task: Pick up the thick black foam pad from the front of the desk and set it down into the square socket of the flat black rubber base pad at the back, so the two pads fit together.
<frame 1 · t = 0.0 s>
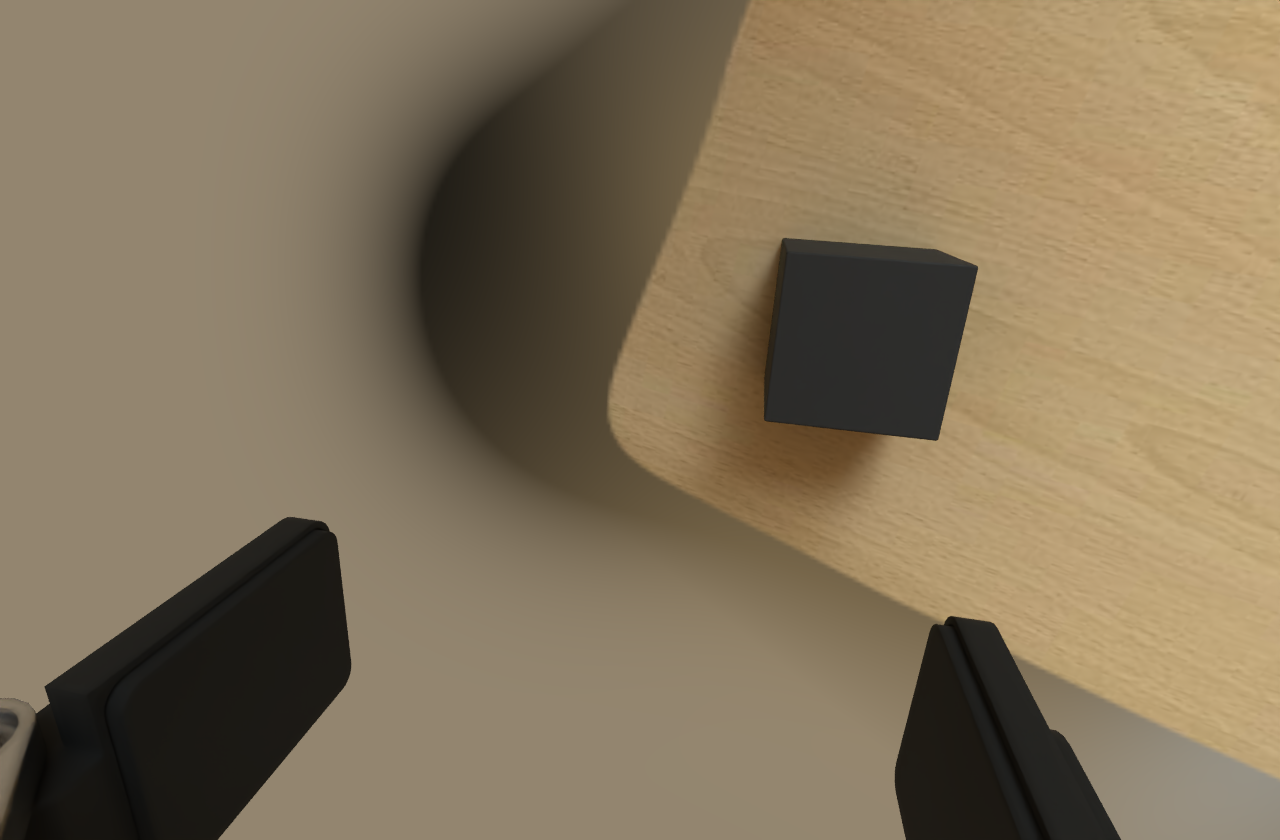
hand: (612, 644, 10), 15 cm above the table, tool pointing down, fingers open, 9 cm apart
foam pad: (846, 318, 23), on the table
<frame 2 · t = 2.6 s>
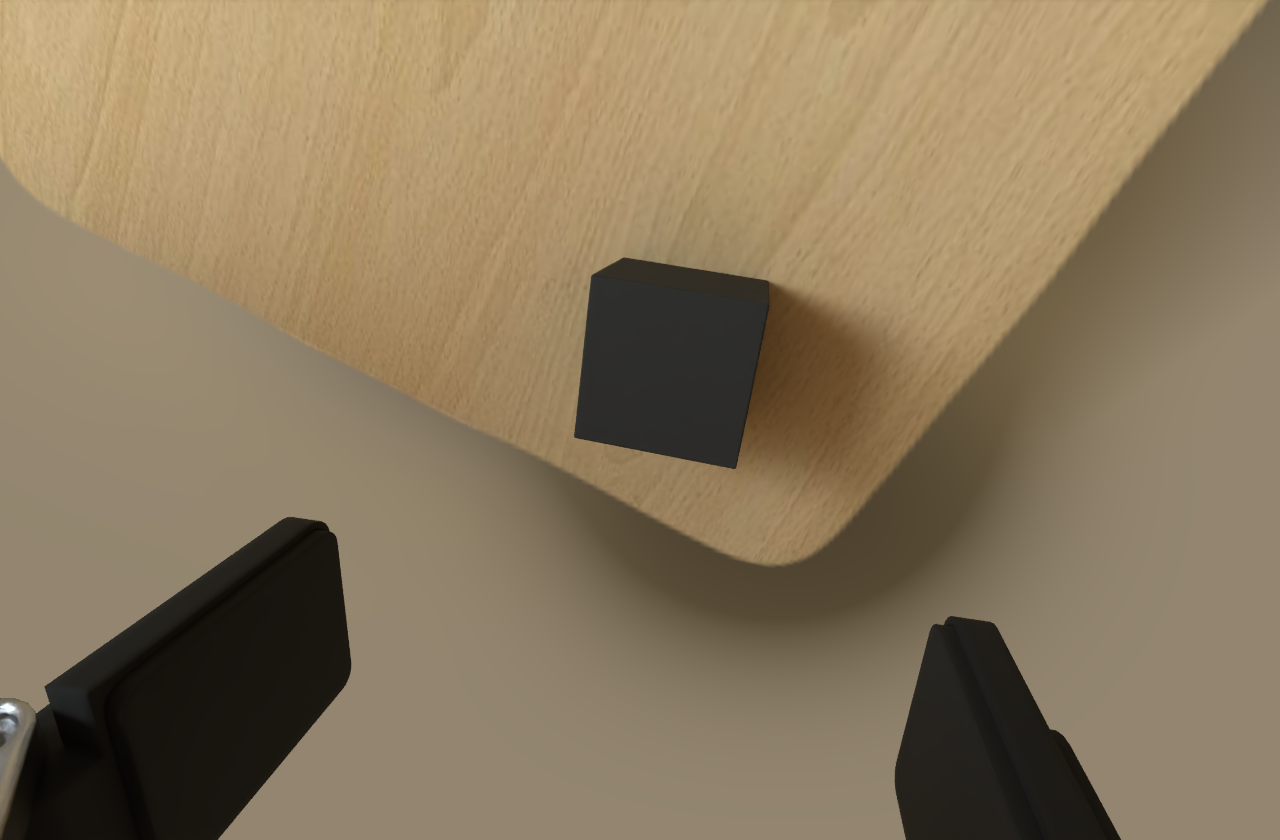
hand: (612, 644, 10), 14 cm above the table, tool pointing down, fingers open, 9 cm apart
foam pad: (683, 340, 23), on the table
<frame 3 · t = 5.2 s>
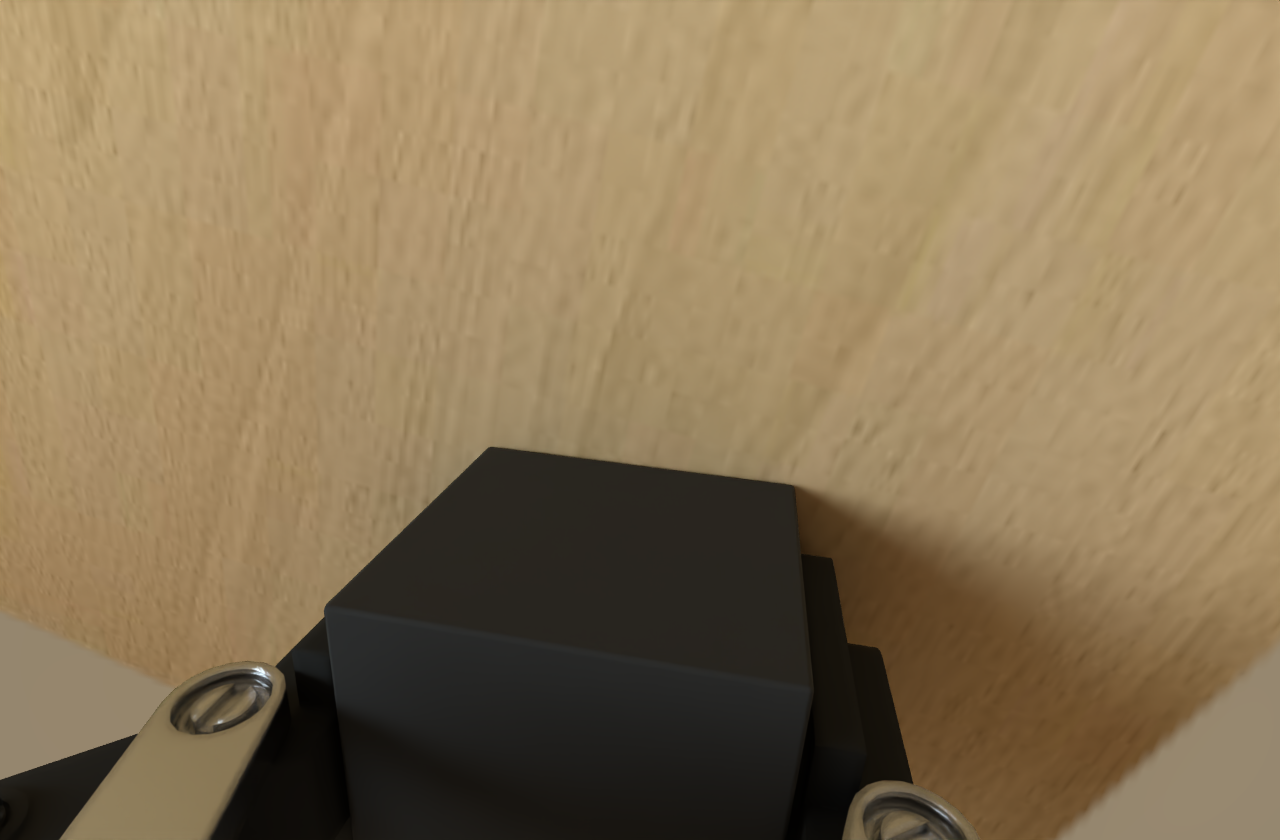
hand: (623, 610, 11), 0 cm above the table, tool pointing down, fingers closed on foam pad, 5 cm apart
foam pad: (628, 595, 12), on the table, touching gripper
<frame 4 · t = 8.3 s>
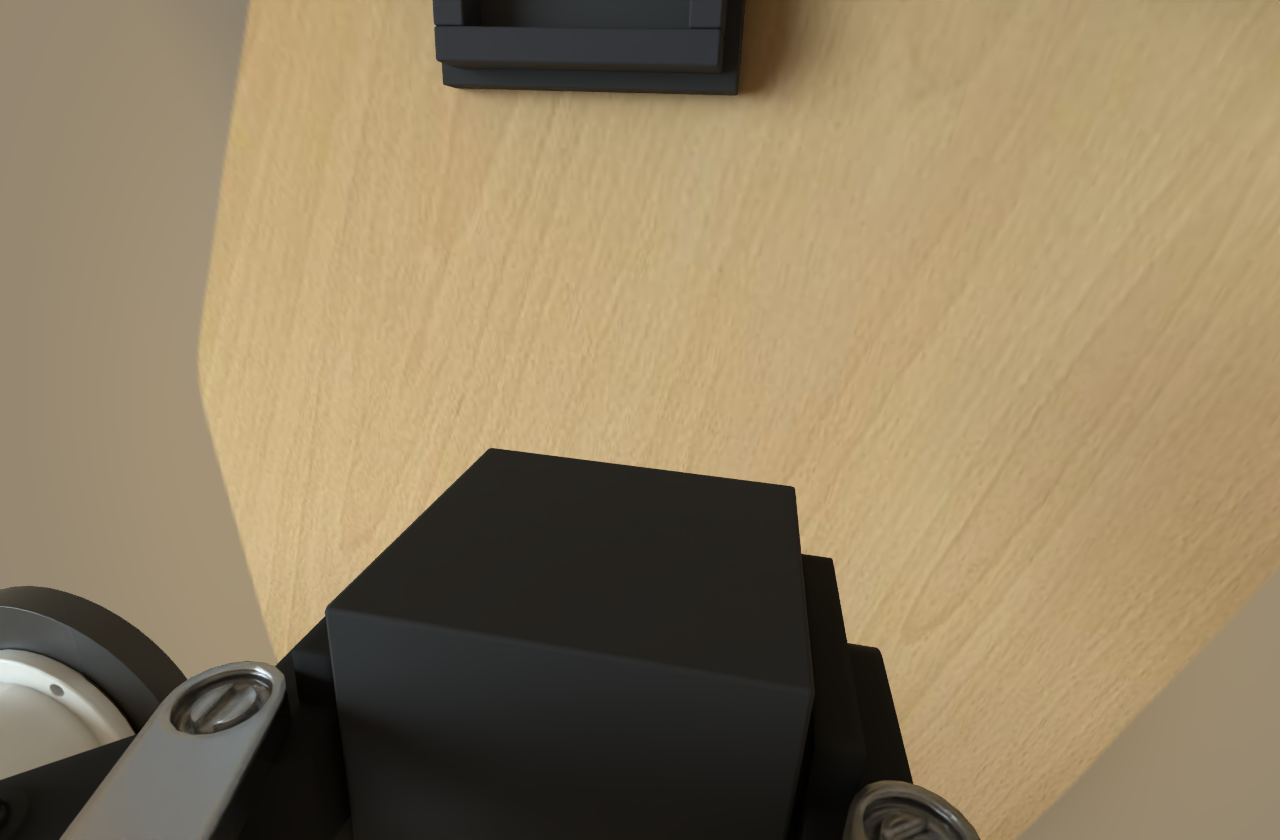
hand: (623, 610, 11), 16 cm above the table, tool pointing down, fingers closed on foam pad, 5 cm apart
foam pad: (628, 596, 12), point 15 cm above the table, touching gripper
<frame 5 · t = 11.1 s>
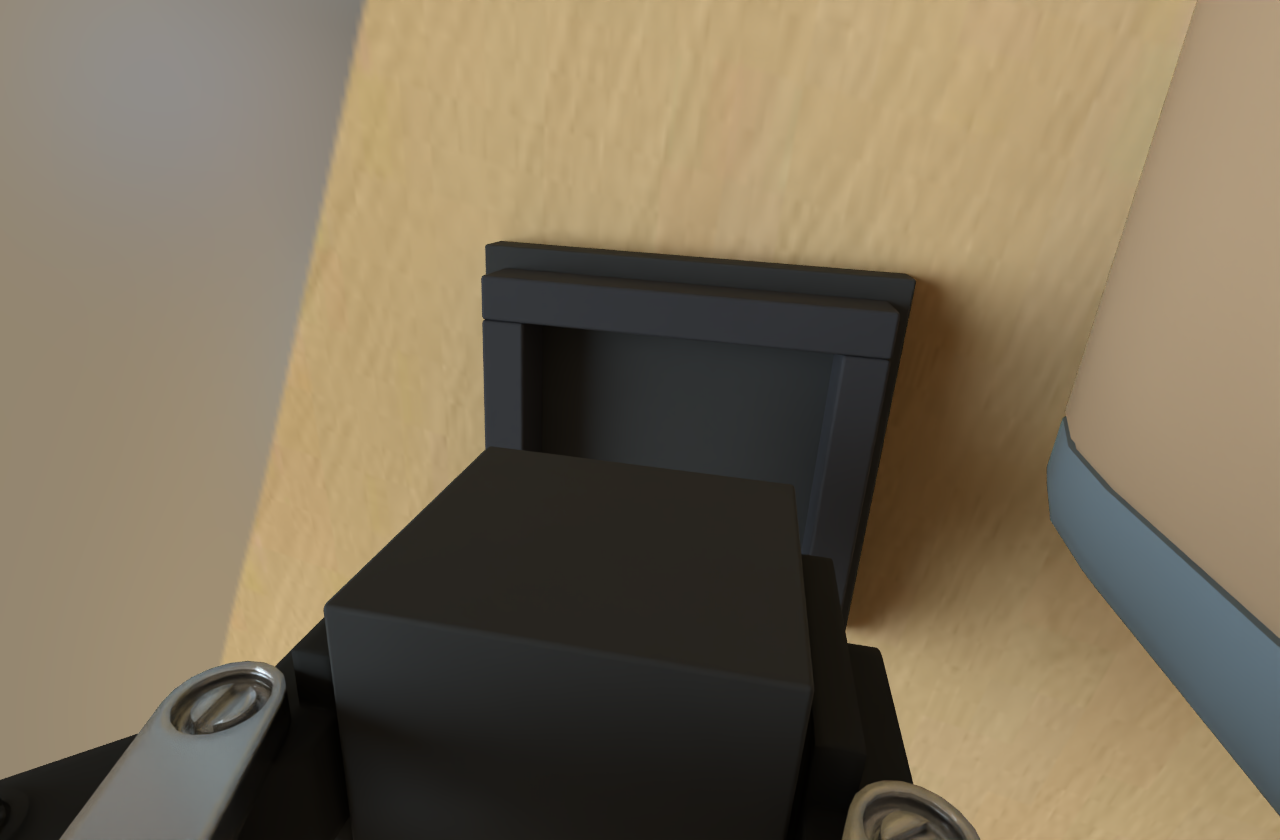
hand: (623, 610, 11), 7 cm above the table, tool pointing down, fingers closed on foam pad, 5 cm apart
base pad: (678, 445, 18), on the table
foam pad: (628, 594, 12), point 7 cm above the table, touching gripper
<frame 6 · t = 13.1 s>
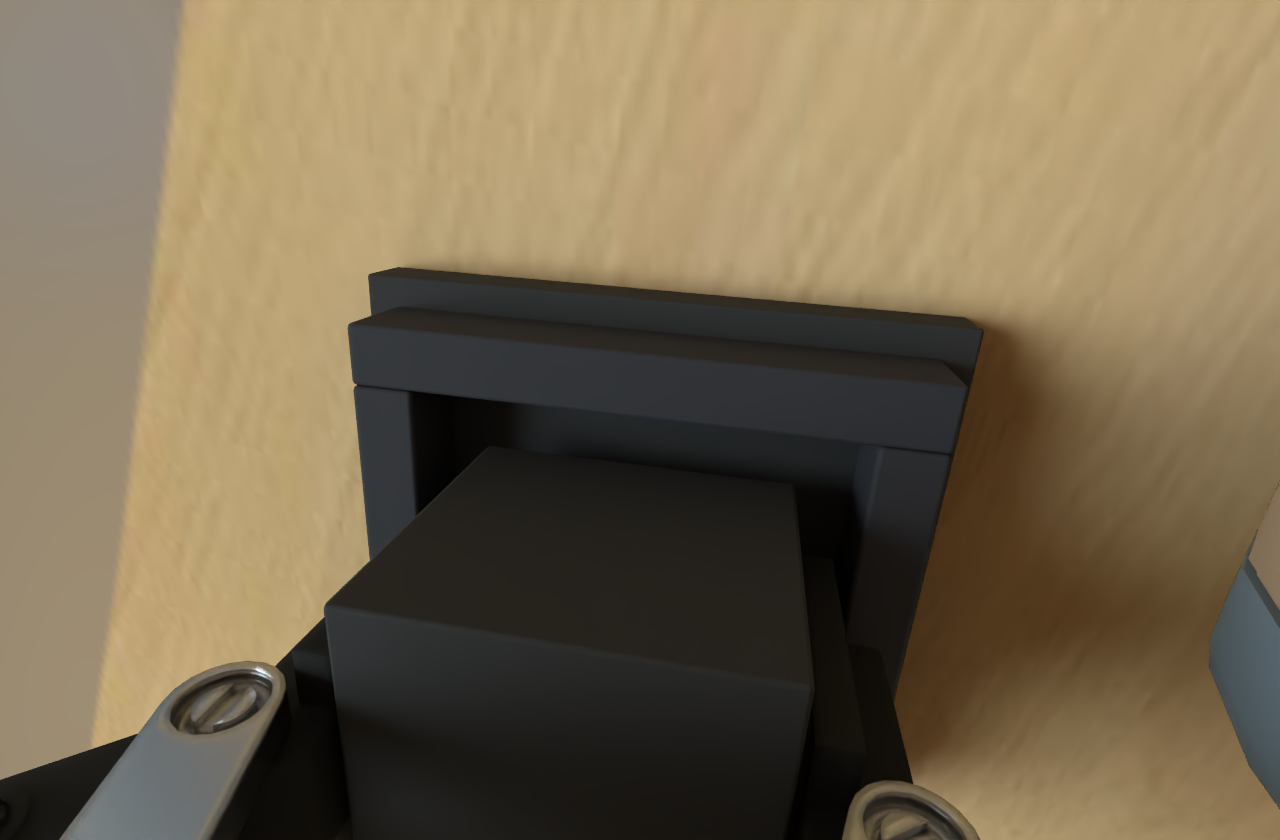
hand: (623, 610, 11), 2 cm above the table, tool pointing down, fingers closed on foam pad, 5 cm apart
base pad: (646, 541, 13), on the table
foam pad: (628, 594, 12), point 2 cm above the table, touching gripper
when the fingers open (3 cm above the table, at t = 17.2 s): foam pad drops 1 cm, resting on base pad.
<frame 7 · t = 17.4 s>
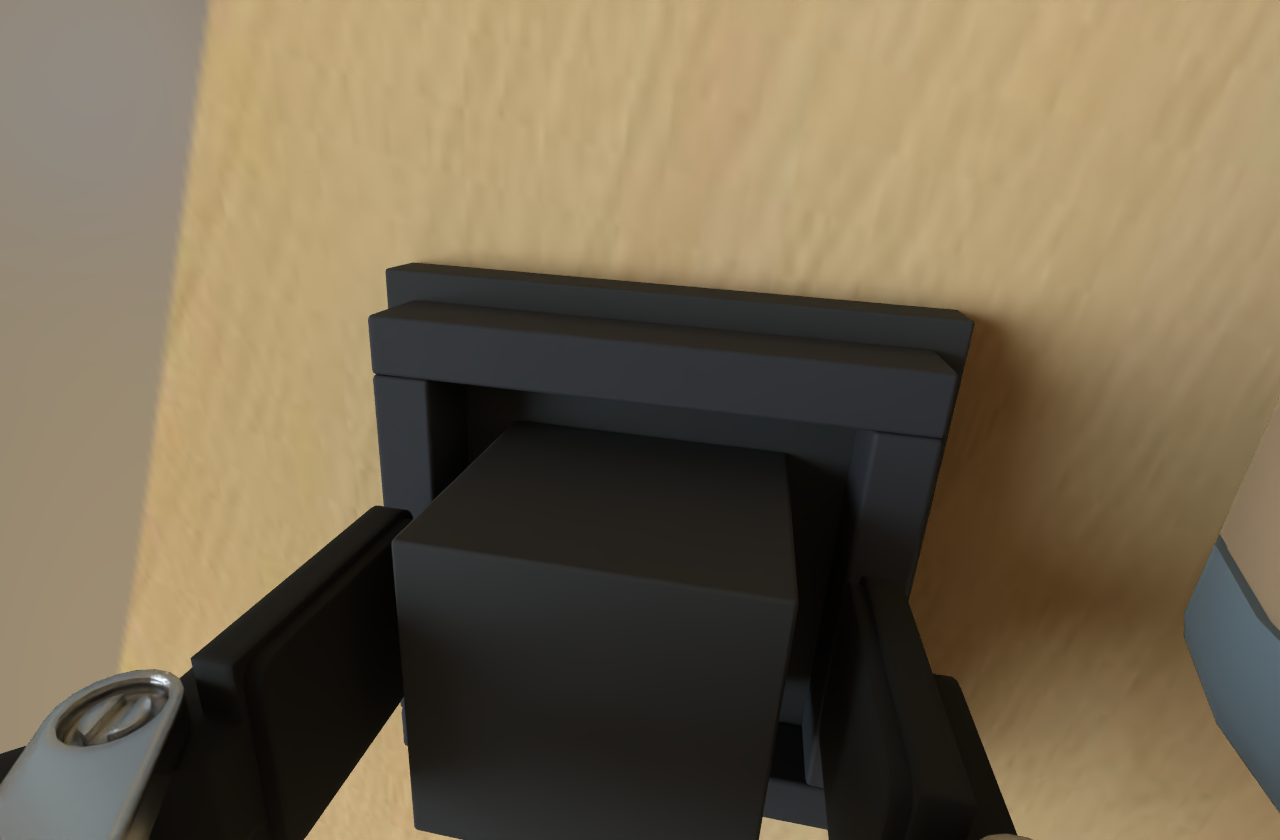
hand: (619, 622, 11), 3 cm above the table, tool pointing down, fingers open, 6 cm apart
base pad: (651, 526, 14), on the table
foam pad: (639, 554, 13), point 1 cm above the table, touching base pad
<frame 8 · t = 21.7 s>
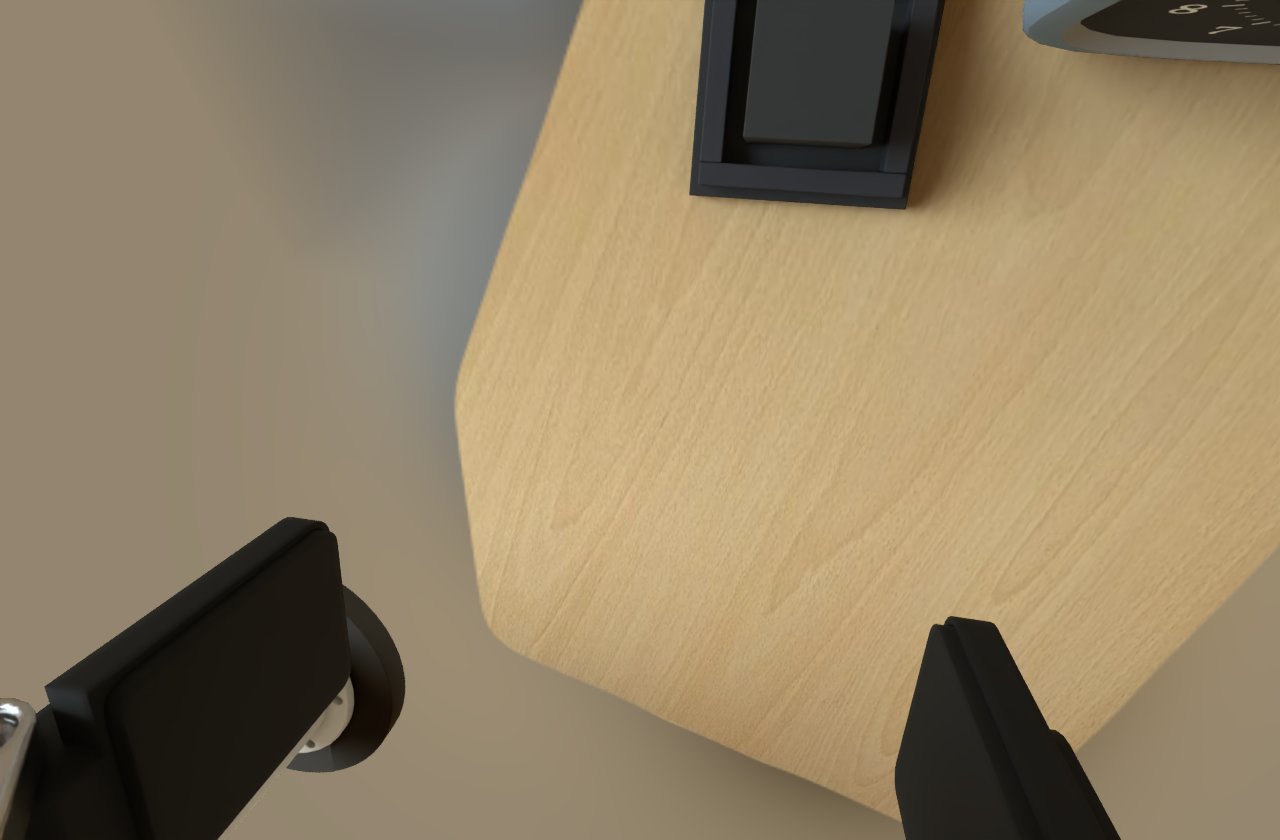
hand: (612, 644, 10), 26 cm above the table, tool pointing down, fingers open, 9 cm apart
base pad: (809, 86, 30), on the table
foam pad: (809, 85, 30), point 1 cm above the table, touching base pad
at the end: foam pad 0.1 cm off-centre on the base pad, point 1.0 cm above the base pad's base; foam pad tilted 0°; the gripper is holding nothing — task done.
